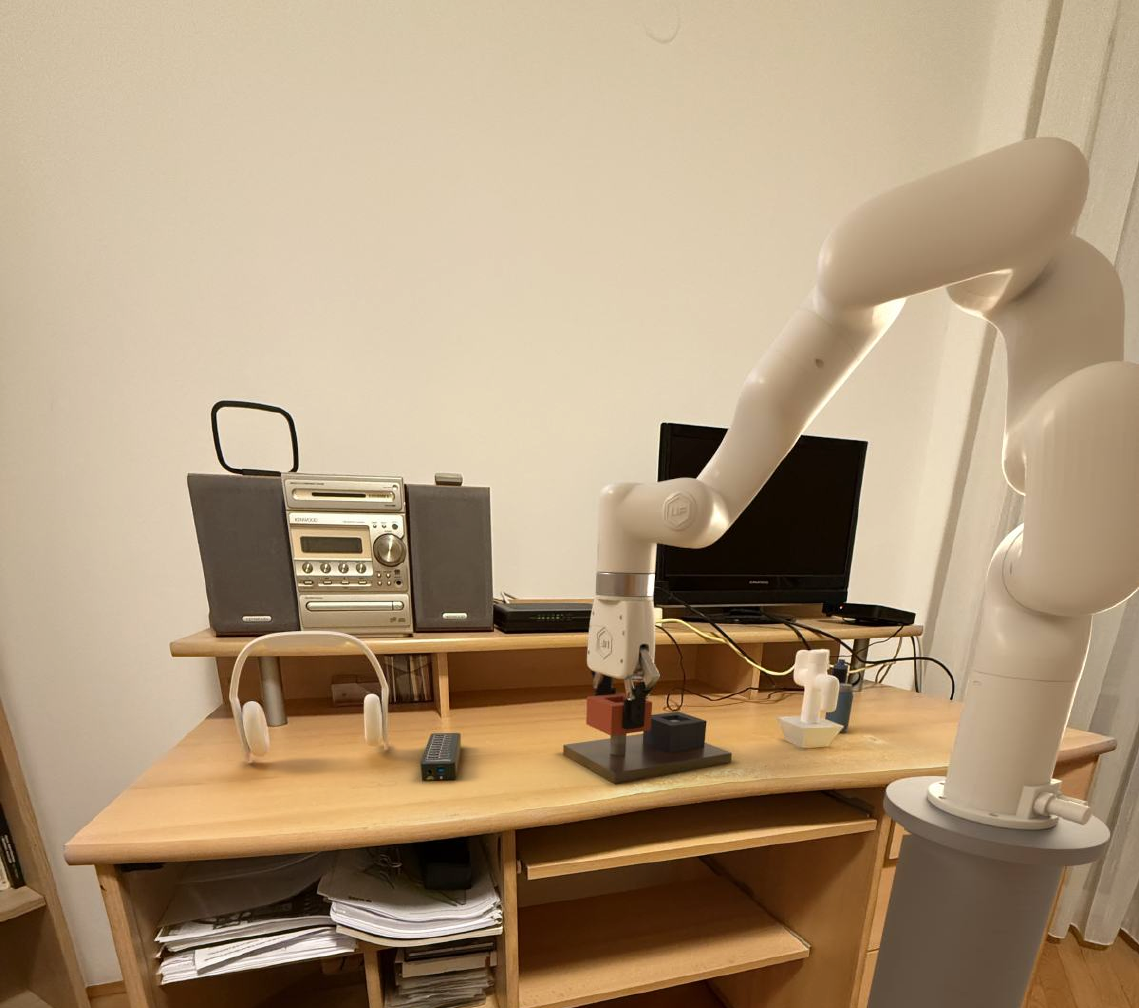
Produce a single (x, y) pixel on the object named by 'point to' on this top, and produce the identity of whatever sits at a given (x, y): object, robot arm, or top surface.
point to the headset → (252, 715)
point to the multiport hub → (441, 757)
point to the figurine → (813, 701)
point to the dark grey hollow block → (675, 732)
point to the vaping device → (842, 697)
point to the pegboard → (640, 758)
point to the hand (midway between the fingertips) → (618, 720)
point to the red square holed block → (612, 714)
